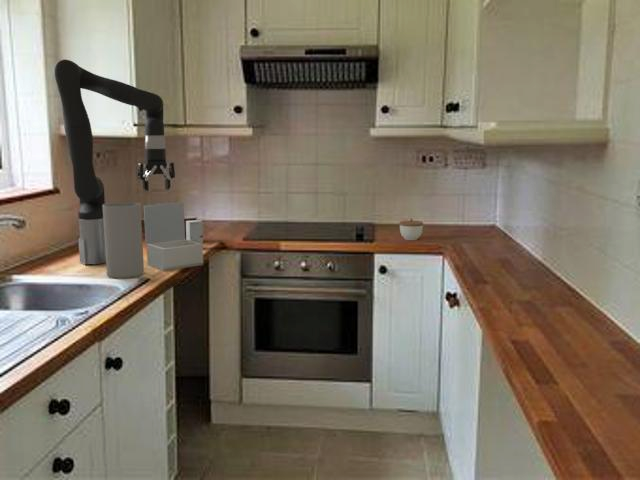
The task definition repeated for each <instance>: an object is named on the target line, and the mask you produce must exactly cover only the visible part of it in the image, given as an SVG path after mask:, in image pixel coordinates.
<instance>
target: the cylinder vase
mask: <svg viewBox="0 0 640 480" xmlns="http://www.w3.org/2000/svg"><path fill="white" fill-rule="evenodd" d="M141 209H142V207H141V203H140V202H134V201H133V202H132V201H130V202H128V201H126V202H125V201H124V202H123V201H121V202H111V203H110V202H109V203H105V204H103V220H104V236H105V251H106V262H105V263H106V264H105V265H106V266H105V267H106V276H107V277H109V278H111V277H113V278H112V279H118V278H123V279H131V278H137V277H141V276H143V274H144V273H145V266H144V262H145V261H144V247H143V244H144V243H143V230H142V228H143V227H142V225H143V224H142V212H141V211H142V210H141Z"/></svg>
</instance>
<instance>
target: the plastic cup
mask: <svg viewBox="0 0 640 480" xmlns="http://www.w3.org/2000/svg"><path fill="white" fill-rule="evenodd" d="M192 220H198V216H184V226H185V239H186V221H192ZM182 240H183V239H182Z"/></svg>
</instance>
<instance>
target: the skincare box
mask: <svg viewBox="0 0 640 480" xmlns="http://www.w3.org/2000/svg"><path fill="white" fill-rule="evenodd" d="M203 222H204V221H203V220H200V219H196V220H192V221H186V240H190V241H193V242H197V243H200V244H203V245H204V229H203V228H204V226H203V225H204V224H203Z"/></svg>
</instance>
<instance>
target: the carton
mask: <svg viewBox="0 0 640 480" xmlns="http://www.w3.org/2000/svg"><path fill="white" fill-rule="evenodd" d="M145 246H146V259H147V260H146V262H147V263H146V265H148V266H149V267H152V268H155V269H157V270H160V271H163V272H165V271H167V272H168V271H173V270H179V269H180V270H181V269H186V268H194V267H198V266H204V243H203V244H200V243H197V242H193V241H190V240H186V239H183V240H174V241H166V242H158V243H150V244H146V243H145Z"/></svg>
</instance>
